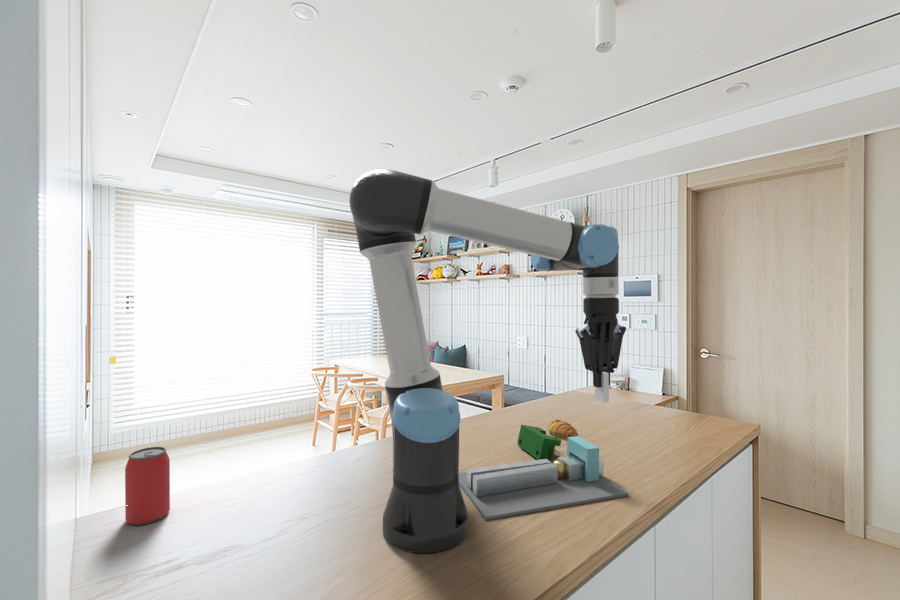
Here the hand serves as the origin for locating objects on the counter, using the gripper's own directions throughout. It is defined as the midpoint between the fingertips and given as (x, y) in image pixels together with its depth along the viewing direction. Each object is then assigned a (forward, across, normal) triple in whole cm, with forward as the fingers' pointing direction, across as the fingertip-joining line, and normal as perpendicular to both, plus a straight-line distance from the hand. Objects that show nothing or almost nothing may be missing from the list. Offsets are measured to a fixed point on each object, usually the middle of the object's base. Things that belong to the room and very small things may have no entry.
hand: (601, 400), depth 93 cm
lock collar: (+17, -4, +2) cm, 17 cm away
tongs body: (+16, -16, +3) cm, 23 cm away
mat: (+17, -16, +2) cm, 24 cm away
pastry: (+18, +10, +26) cm, 34 cm away
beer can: (+15, -90, +20) cm, 93 cm away
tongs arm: (+16, -22, +2) cm, 27 cm away
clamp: (+18, -4, +18) cm, 26 cm away
